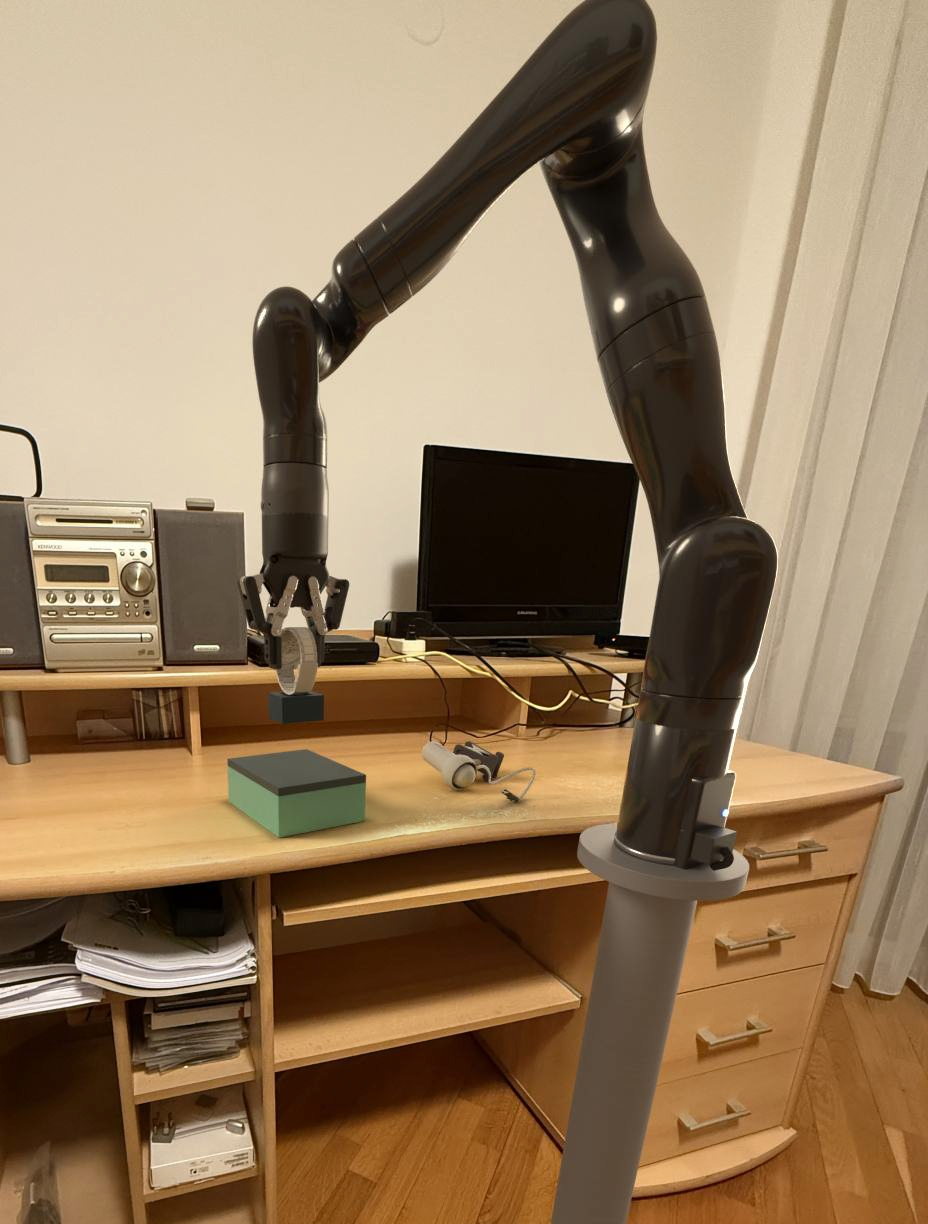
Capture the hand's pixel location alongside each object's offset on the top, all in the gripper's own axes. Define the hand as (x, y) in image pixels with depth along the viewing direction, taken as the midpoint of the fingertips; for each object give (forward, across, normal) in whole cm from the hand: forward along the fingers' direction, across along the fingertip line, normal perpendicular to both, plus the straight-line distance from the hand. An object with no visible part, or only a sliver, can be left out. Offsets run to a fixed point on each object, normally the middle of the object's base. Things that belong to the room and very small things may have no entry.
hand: (295, 666), depth 76 cm
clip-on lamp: (+19, +29, -3) cm, 35 cm away
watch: (+7, 0, 0) cm, 7 cm away
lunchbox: (+18, 0, 0) cm, 18 cm away
